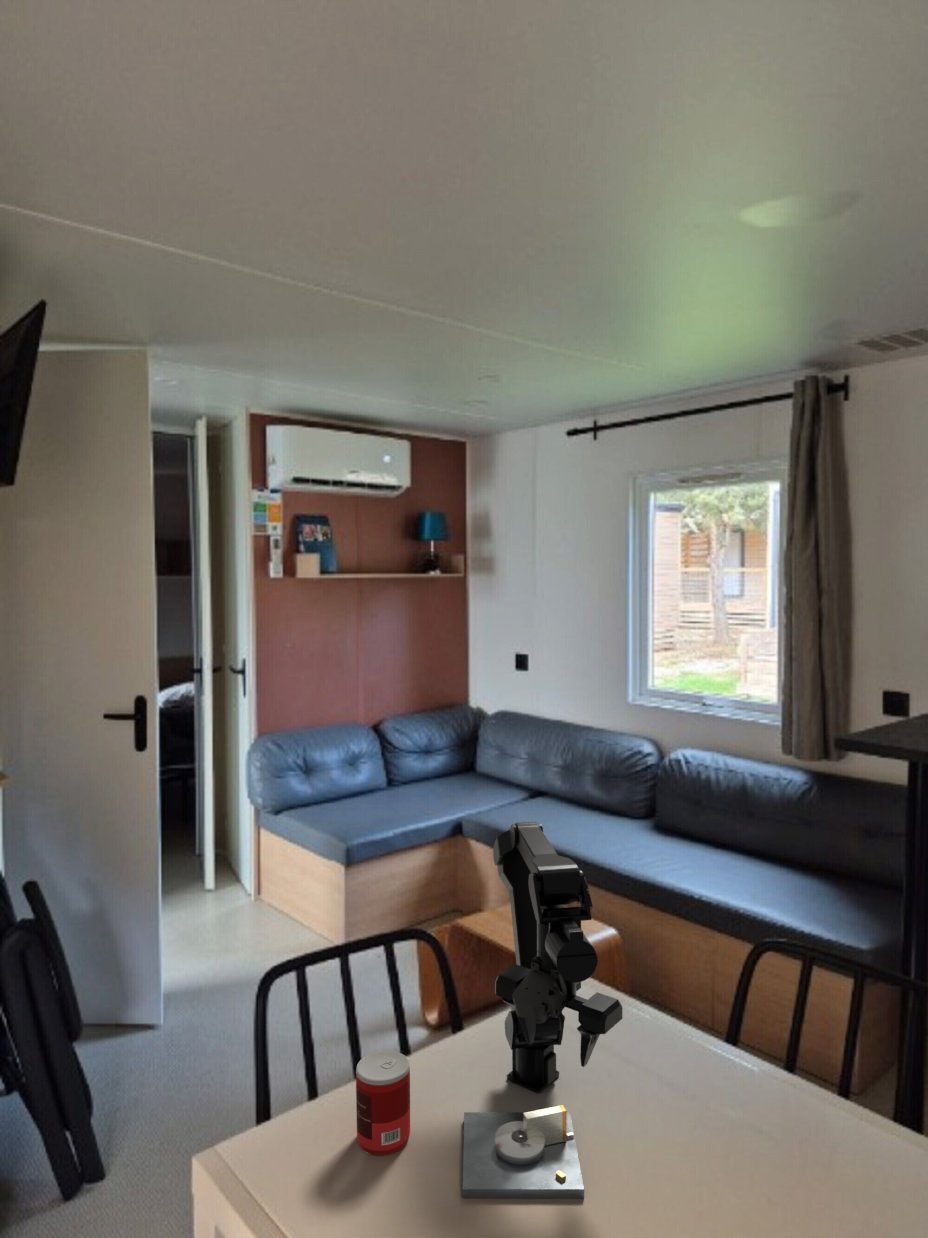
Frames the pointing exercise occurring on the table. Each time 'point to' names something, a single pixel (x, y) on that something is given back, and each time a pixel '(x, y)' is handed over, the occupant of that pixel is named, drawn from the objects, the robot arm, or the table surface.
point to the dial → (531, 1135)
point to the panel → (506, 1180)
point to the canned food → (383, 1102)
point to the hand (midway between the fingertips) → (556, 1054)
